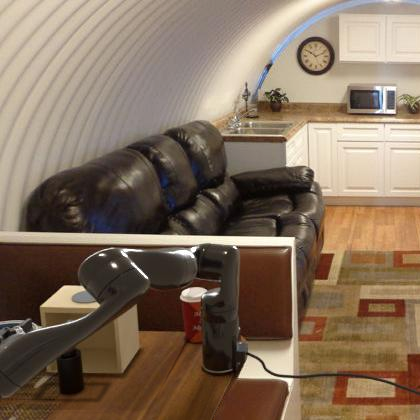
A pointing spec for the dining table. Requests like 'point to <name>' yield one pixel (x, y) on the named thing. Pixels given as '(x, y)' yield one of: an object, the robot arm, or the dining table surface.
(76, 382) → the pepper mill
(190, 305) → the paper cup
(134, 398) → the dining table surface
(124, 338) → the cream hollow block
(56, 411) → the dining table surface
